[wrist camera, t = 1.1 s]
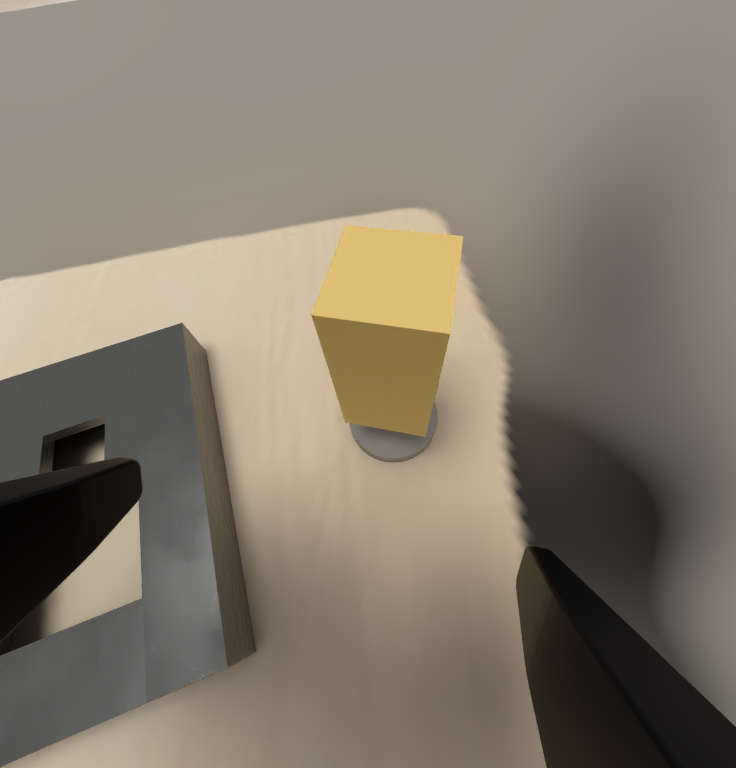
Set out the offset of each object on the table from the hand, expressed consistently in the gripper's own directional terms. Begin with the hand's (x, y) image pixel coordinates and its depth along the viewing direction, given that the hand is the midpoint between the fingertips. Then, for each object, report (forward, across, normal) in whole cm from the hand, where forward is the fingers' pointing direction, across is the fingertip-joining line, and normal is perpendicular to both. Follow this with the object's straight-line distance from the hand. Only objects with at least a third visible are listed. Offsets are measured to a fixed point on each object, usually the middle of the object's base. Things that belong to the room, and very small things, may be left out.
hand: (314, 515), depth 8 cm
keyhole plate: (+9, +16, +10) cm, 21 cm away
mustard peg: (+15, 0, +4) cm, 16 cm away
